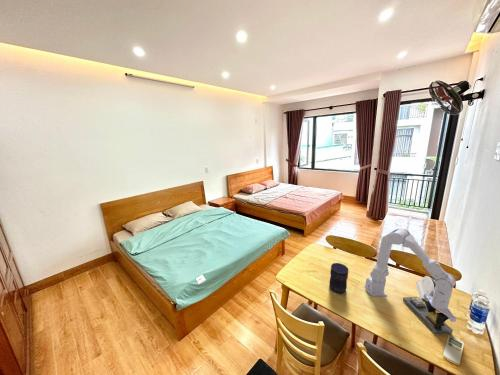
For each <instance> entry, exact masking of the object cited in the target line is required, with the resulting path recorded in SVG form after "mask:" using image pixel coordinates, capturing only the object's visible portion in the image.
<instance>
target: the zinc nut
mask: <svg viewBox="0 0 500 375" xmlns="http://www.w3.org/2000/svg"><path fill="white" fill-rule="evenodd" d="M417 297H418V296H417ZM411 303H412V304H413V305H414V306H415V307H416V308H417V309H421V308H424V307H425V305H426V304H425V301H423V300H421V299H420V296H419V297H418V298H412V300H411Z"/></svg>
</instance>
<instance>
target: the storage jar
mask: <svg viewBox="0 0 500 375" xmlns="http://www.w3.org/2000/svg"><path fill="white" fill-rule="evenodd" d="M330 265H331V266H330V277H329V286H328V287H329V290H330V291H331V292H333V293H334V294H336V295H337V294H338V295H344V294H345V293H346V292H347V287H348V282H347V281H348V278H349V268H348V267H347V265H345V264H343V263H340V262H334V263H332V264H330Z"/></svg>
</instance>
